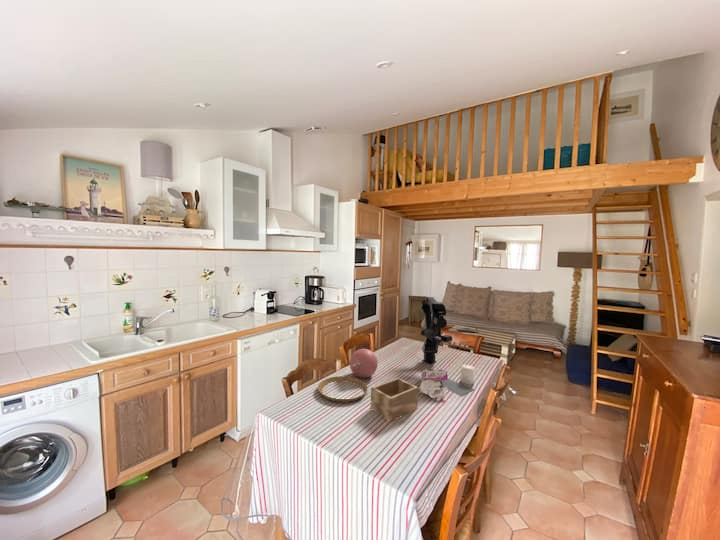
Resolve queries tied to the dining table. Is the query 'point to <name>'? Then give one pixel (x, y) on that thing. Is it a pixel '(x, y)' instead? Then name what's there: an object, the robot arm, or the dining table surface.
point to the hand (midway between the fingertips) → (435, 349)
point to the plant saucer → (342, 378)
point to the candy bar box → (434, 375)
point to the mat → (455, 387)
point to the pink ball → (363, 363)
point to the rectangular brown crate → (394, 398)
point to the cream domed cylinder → (467, 374)
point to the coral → (432, 389)
